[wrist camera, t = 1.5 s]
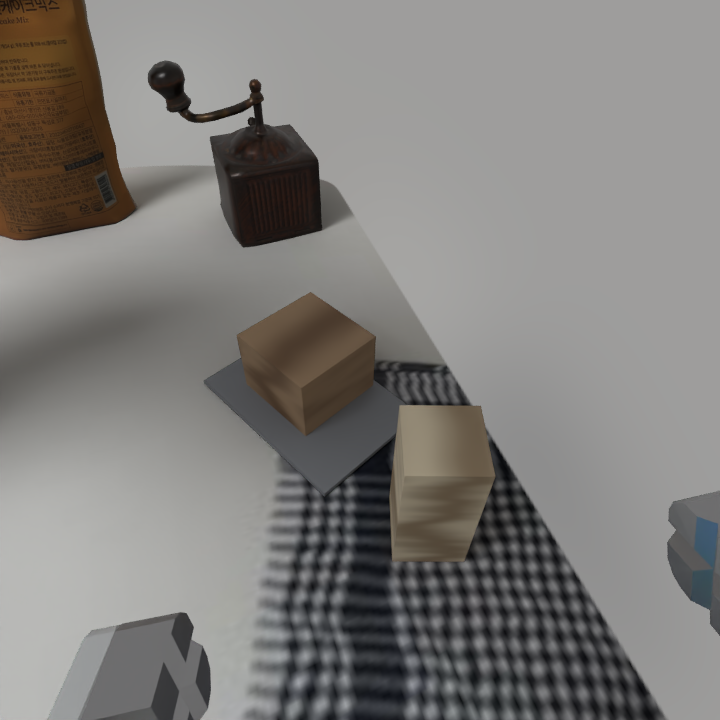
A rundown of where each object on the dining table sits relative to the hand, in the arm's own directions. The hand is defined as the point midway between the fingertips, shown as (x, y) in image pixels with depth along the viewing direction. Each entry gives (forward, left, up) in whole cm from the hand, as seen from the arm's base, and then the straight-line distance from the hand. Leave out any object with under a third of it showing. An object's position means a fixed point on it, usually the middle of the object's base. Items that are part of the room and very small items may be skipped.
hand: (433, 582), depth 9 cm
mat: (-23, +15, -27) cm, 39 cm away
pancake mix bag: (-64, +13, -28) cm, 71 cm away
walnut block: (-24, +16, -27) cm, 39 cm away
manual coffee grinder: (-50, +29, -28) cm, 64 cm away
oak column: (-8, +13, -27) cm, 31 cm away
